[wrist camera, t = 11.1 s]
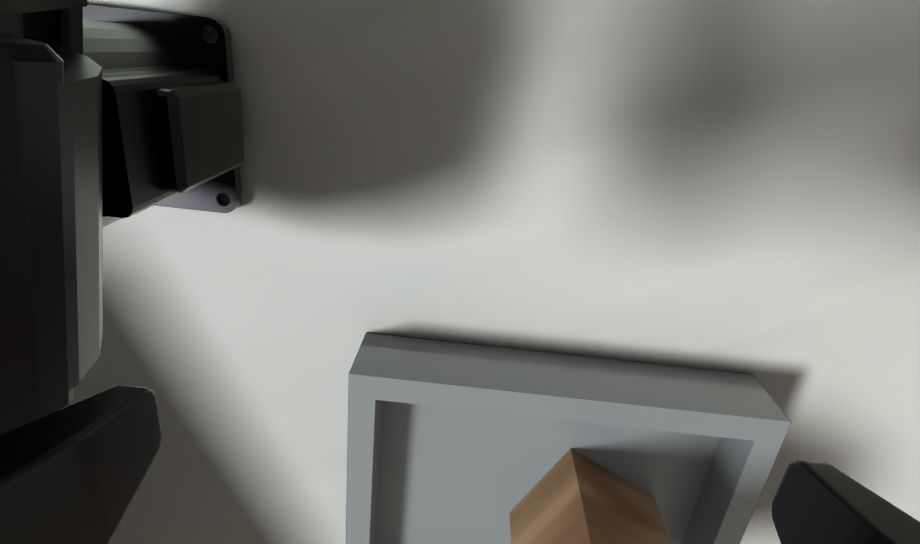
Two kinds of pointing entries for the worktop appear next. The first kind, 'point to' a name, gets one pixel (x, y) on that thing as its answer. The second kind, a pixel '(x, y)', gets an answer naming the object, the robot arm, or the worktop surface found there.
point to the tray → (544, 438)
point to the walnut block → (586, 508)
